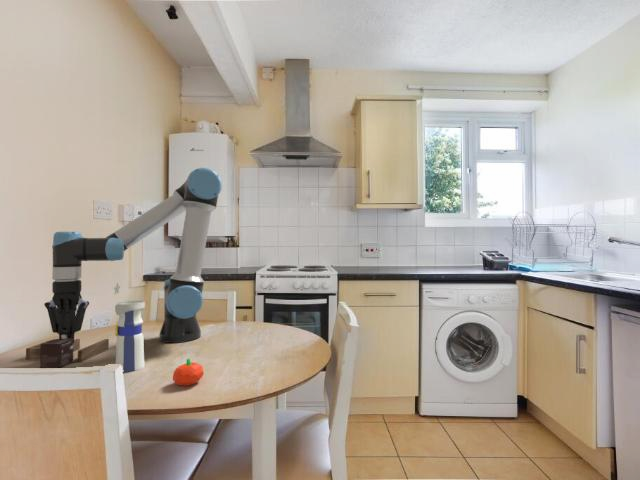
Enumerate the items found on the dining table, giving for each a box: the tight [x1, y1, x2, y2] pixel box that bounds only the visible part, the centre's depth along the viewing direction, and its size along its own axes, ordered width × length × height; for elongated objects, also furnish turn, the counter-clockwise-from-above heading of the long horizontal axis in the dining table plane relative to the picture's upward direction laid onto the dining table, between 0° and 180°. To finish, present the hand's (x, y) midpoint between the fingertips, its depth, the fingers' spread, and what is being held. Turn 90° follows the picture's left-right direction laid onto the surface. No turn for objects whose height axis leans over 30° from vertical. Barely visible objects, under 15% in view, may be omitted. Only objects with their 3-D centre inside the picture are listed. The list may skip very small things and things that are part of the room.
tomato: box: [172, 358, 205, 387], centre depth 93 cm, size 7×8×6 cm
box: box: [39, 338, 74, 369], centre depth 108 cm, size 6×6×7 cm
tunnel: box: [25, 338, 110, 363], centre depth 118 cm, size 20×14×4 cm
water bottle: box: [113, 282, 146, 373], centre depth 105 cm, size 8×9×25 cm
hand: (66, 354), depth 113 cm, fingers closed
